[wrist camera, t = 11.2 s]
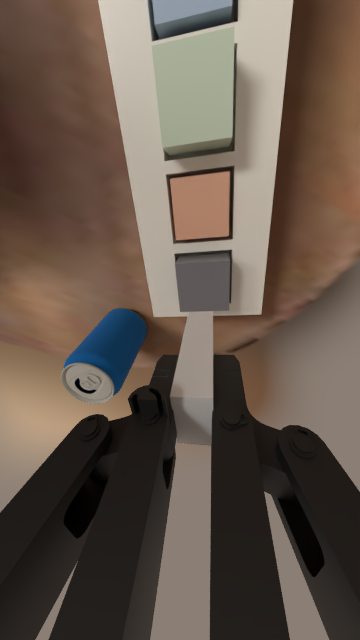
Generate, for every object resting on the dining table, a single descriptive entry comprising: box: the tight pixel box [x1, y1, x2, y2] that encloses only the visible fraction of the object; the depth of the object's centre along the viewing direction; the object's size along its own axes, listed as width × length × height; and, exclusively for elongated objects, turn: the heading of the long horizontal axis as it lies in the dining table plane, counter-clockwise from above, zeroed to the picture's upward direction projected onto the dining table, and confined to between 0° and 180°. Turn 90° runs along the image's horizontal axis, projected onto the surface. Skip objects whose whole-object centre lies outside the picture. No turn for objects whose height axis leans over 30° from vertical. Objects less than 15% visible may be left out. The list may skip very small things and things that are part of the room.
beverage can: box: [61, 308, 147, 404], centre depth 27 cm, size 6×6×12 cm
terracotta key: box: [170, 171, 230, 240], centre depth 19 cm, size 5×5×3 cm
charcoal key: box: [175, 253, 230, 312], centre depth 21 cm, size 5×5×3 cm
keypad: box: [98, 0, 293, 317], centre depth 19 cm, size 12×28×5 cm, turn 5°
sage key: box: [152, 26, 235, 155], centre depth 15 cm, size 5×5×3 cm
